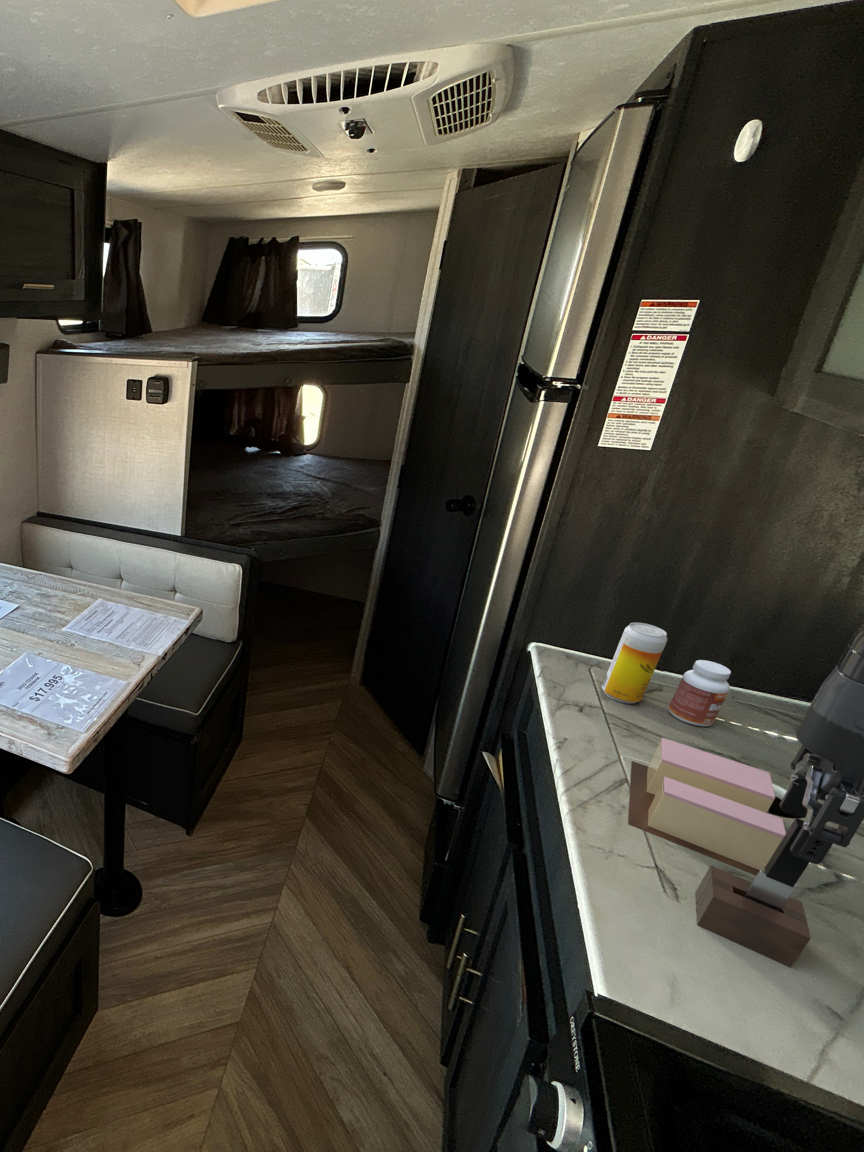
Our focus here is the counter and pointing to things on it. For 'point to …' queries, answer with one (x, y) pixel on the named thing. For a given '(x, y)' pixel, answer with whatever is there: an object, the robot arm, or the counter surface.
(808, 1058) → the counter surface
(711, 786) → the cake
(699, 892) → the knife block
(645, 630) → the beer can
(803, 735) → the robot arm
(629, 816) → the cake board
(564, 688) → the counter surface
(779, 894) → the knife
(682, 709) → the pill bottle
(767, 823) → the cake slice
